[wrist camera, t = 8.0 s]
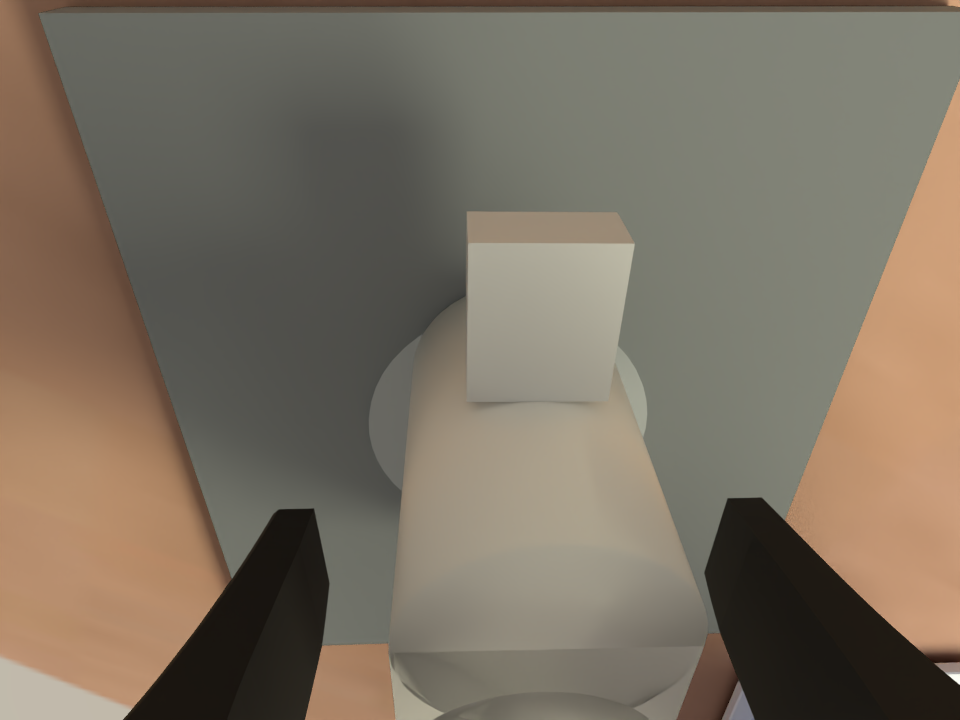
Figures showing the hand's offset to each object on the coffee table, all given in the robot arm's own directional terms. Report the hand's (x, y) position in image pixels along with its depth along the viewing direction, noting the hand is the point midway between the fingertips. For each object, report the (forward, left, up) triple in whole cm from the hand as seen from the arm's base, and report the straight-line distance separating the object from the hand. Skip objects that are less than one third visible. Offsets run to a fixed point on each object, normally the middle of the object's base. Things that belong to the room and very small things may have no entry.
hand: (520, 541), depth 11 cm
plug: (+1, 0, -3) cm, 3 cm away
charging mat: (0, 0, -4) cm, 4 cm away
